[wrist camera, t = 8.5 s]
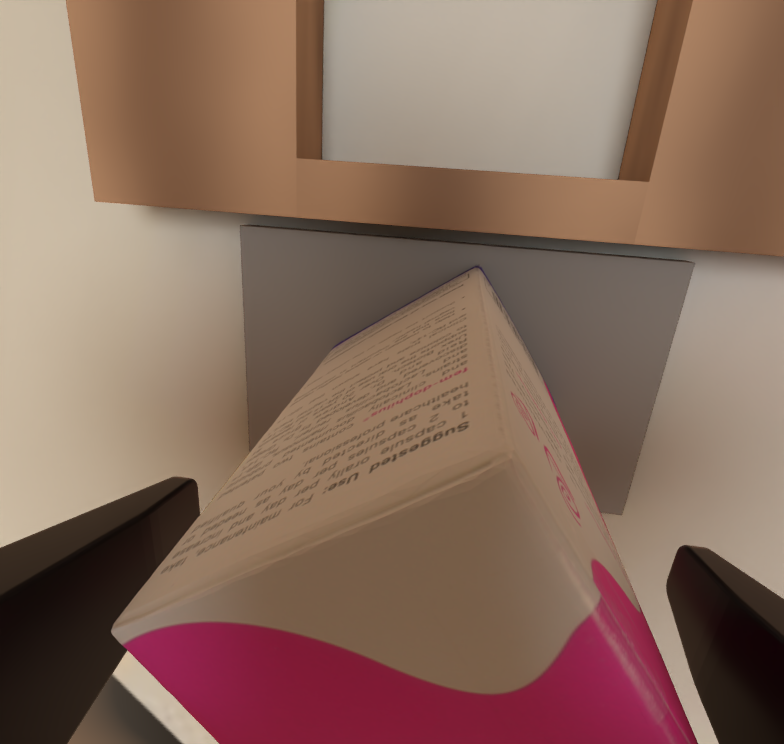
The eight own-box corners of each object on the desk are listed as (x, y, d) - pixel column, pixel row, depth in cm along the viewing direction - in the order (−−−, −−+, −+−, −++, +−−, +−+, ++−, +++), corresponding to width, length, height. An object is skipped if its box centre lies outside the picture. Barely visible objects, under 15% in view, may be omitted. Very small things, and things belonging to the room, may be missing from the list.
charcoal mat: (686, 260, 14) (695, 263, 14) (616, 505, 18) (622, 515, 17) (247, 224, 16) (239, 225, 15) (256, 458, 19) (250, 466, 18)
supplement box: (326, 348, 16) (80, 631, 6) (479, 259, 15) (544, 423, 4) (410, 477, 18) (342, 904, 7) (560, 410, 16) (771, 832, 5)
